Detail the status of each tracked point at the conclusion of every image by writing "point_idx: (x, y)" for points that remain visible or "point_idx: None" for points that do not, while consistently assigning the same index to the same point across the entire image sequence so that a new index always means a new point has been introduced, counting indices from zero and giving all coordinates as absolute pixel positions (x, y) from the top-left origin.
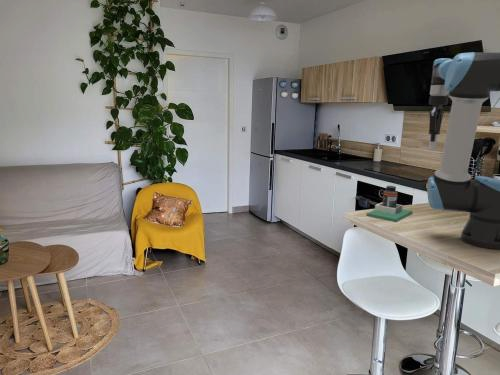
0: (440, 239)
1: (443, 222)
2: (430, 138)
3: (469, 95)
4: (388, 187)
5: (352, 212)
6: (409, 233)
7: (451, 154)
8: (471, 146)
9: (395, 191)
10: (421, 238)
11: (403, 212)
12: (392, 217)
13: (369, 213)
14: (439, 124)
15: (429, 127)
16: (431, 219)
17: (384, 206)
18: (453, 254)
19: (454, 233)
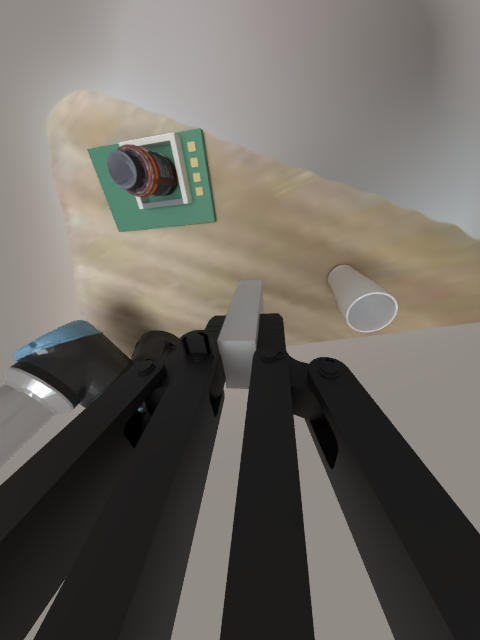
0: (120, 315)
1: (205, 292)
2: (225, 320)
3: None
4: (107, 168)
5: (74, 92)
6: (97, 278)
7: None
8: None
9: (135, 190)
10: (97, 298)
11: (180, 213)
12: (122, 219)
13: (92, 157)
14: (355, 534)
15: (84, 411)
16: (205, 270)
17: None
18: None
19: (163, 320)
